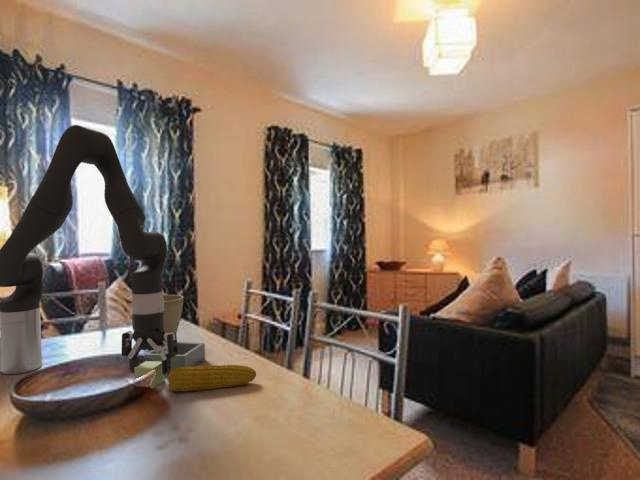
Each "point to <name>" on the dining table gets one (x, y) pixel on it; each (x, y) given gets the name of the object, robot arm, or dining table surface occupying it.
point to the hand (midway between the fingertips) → (150, 372)
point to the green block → (148, 367)
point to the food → (209, 377)
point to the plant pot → (172, 312)
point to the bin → (182, 355)
